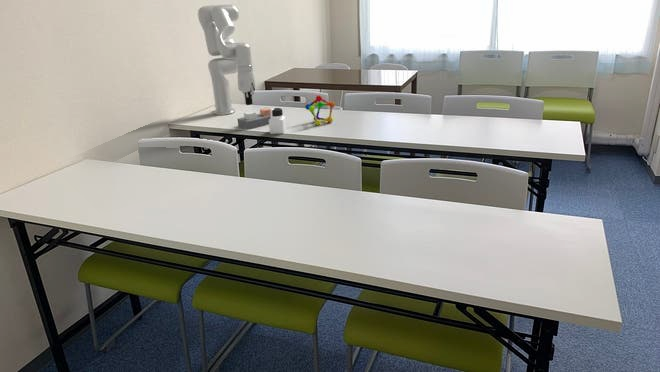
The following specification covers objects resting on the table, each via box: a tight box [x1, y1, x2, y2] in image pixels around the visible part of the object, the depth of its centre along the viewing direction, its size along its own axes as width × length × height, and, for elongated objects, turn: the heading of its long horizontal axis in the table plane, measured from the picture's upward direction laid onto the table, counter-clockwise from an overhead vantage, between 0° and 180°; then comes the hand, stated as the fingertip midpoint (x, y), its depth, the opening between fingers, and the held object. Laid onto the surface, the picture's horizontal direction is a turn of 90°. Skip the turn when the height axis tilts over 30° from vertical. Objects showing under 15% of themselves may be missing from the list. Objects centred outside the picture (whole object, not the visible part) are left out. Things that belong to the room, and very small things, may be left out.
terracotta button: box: [259, 107, 272, 116], centre depth 265 cm, size 4×4×4 cm
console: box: [236, 113, 271, 130], centre depth 263 cm, size 10×20×4 cm, turn 130°
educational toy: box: [305, 94, 336, 126], centre depth 258 cm, size 16×13×15 cm
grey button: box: [243, 110, 257, 120], centre depth 259 cm, size 4×4×4 cm
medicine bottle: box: [268, 107, 287, 135], centre depth 245 cm, size 7×7×12 cm
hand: (249, 104), depth 256 cm, fingers closed
